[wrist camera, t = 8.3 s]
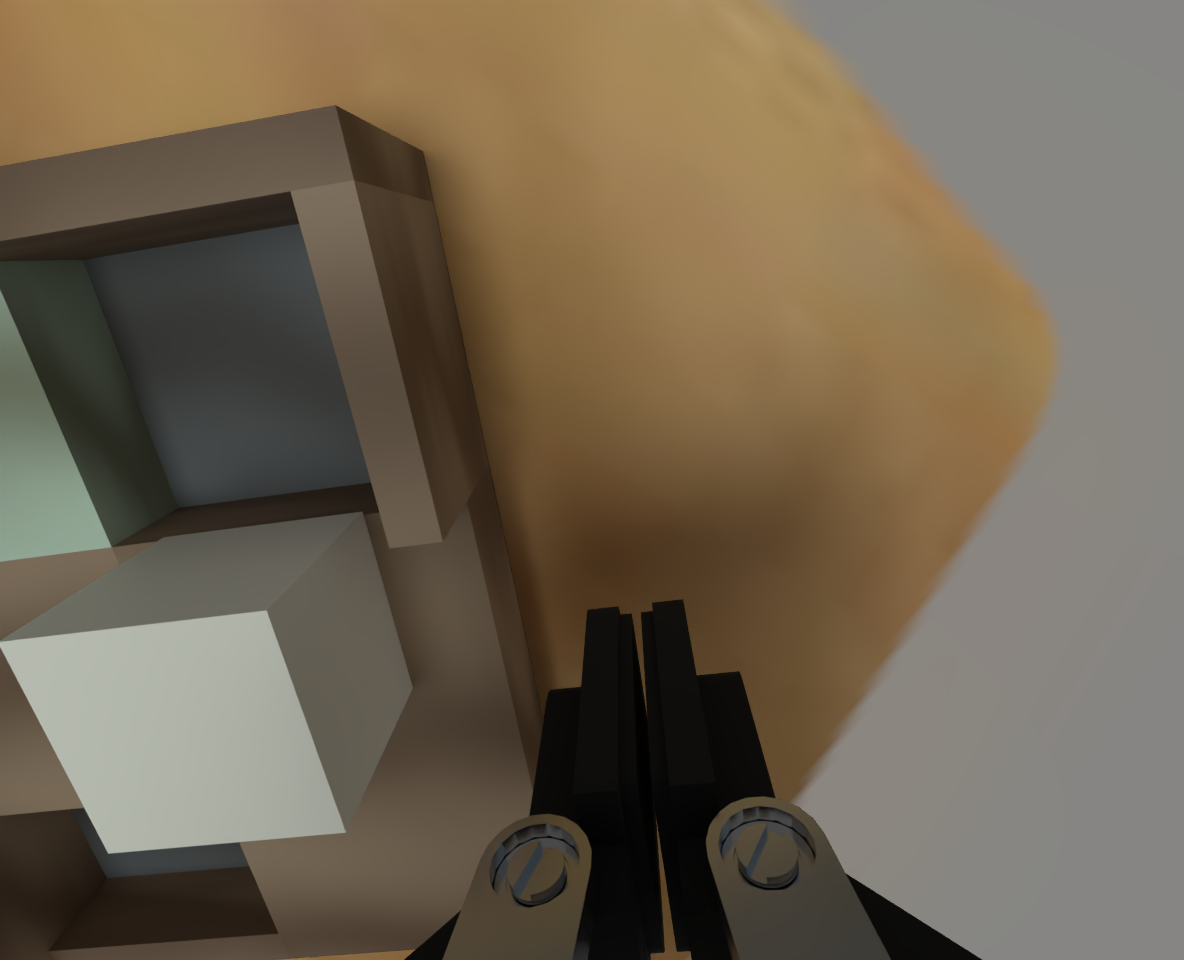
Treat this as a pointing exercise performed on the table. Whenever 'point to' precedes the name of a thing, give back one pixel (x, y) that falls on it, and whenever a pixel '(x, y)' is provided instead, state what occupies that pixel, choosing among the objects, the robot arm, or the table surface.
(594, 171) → the table surface
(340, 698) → the block
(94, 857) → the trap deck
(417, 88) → the table surface
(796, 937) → the robot arm
